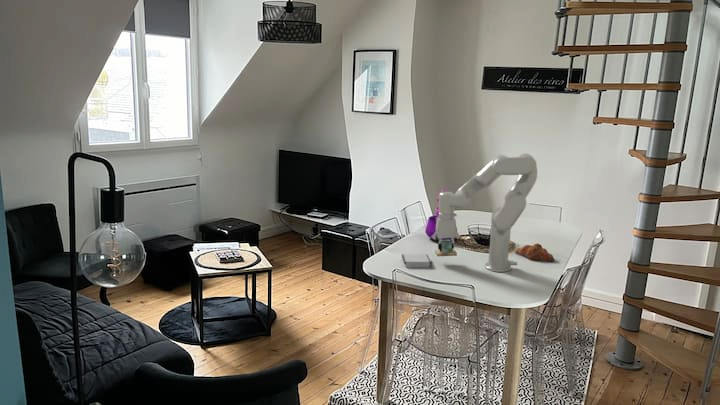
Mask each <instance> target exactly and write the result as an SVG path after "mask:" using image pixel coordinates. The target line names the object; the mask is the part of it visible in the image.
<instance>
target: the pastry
mask: <svg viewBox="0 0 720 405" xmlns="http://www.w3.org/2000/svg"><path fill="white" fill-rule="evenodd" d="M515 254H516V255H518V256H520V257H523V258H525V259H527V260H530V261H537V262H538V261H539V262H540V261H542V262H548V263H554V262H555V258H554V256H553V254H552V253H549V252H548V251H547V249H546V248H543V246H542V245H541V244H540V243H534V244H532V245H530V244H527V245H524V246H522V247H518V248H516V250H515Z"/></svg>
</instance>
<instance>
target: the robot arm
mask: <svg viewBox="0 0 720 405" xmlns="http://www.w3.org/2000/svg"><path fill="white" fill-rule="evenodd" d="M501 176H517V178H516V180H515V181H514V183H513V185H512V186H511V188H510V189H509V190H508V192H506V194H505V196H504V203H503V204H502V205H501V206H498V207H496V208H495V209H494V210H493V212H492V214H491V220H490V222H491V223H490V224H491V225H490V239H489V249H488V250H489V251H488V261H487V262H486V263H484V267H485V269H487V270H488V271H492V272H496V273H505V272H509V271H510V270H511V266H517V265H518V261H514V260H510V259H509V251H510V242H511V231H512V230H511V229H512V228H513V226H514V225H515V224H516V222H517V221H518V219H519V218H520V217H521V215H522V214H523V212H524V211H525V209H526V206H527V197H528V196H529V194H530V192H532V189H533V188H534V186H535V184H536V182H537V179H538V167H537V161H536V159H535V158H534V157H533V155H531V154H529V153H522V154H520V155H519V156H517V157H516V156H515V157H507V156H506V155H504V154H499V155H496V156H495V157H493V158H492V159H491V160H490V161H489V162H488V163H487V164H486V165H485V166H484V167H482V169H480V171H478V172H477V173H476V174H475V175H473V177H471V178H470V179H469V180H468V181H466V182H465V183H464V184H463V185H462V186H461V187H460V188H458V190H457V191H455V193H453V192H452V191H446V192H441V191H440V192H439V194H438V196H439V202H438V205H439V218H437V222H436V232H435V233H434V234H433V235H432V238H433V240H434V241H435V242H436V243H437V250H440V251H442V244H441V241H442V238H450V241H451V242H452V251H453V249H454V246H455V243H456V242H457V241H458V240H459V238H461V235H460V233H458V230H457V231H456V227H457V221H456V222H455V220H456V218H455V217H457V215H458V214H457V213H455V211H454V210H455V208H458V209H465V208H467V207H468V206H469V205H470V200H471V199H472V197H473V196H474V195H476V194H477V193H478V192H481V190H483V189H487V188H489V187H490V186H491V185H492V184H493V183H494V182H495V181H497V179H499V178H500V177H501ZM435 236H437V238H438V239H437V238H436V237H435ZM432 238H431V239H432ZM454 250H455V249H454Z"/></svg>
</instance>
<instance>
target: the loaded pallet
mask: <svg viewBox="0 0 720 405" xmlns="http://www.w3.org/2000/svg"><path fill="white" fill-rule="evenodd" d="M441 244H442V251H440V250H439V249H435V250H434V253H435V254H436V257H455V256H458V255H457V254H458V253H457V251H456V250H455V249H453V251H452V242H451V239H450V240H442V241H441Z"/></svg>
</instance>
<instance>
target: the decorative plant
mask: <svg viewBox="0 0 720 405" xmlns="http://www.w3.org/2000/svg"><path fill="white" fill-rule="evenodd" d="M441 192H447V190H445V189H442V190H441V191H440V193H441ZM436 201H437V202H438V203H439V195H438V196H437V197H436ZM435 214H436V215H431V216H429V217H428V219H427V223H426V226H425V232H424V233H425V234H426V236H427V237H428V238H430V239H433V238H432V235H433V234H434V233H435V232H436V222H437V218H439V204H437V206H436V209H435ZM455 222H456V223H457V221H456V219H455ZM457 227H458V226H456V231H457V232H458V228H457ZM435 237H436V238H437V236H435ZM437 239H438V238H437ZM433 240H434V239H433ZM442 240H450V241H451V239H450V238H442Z"/></svg>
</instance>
